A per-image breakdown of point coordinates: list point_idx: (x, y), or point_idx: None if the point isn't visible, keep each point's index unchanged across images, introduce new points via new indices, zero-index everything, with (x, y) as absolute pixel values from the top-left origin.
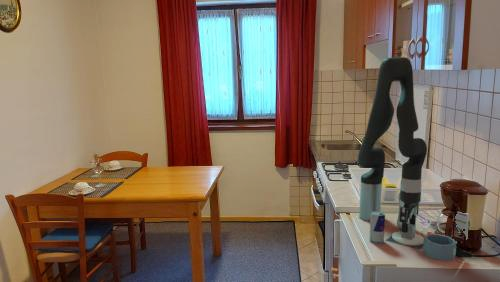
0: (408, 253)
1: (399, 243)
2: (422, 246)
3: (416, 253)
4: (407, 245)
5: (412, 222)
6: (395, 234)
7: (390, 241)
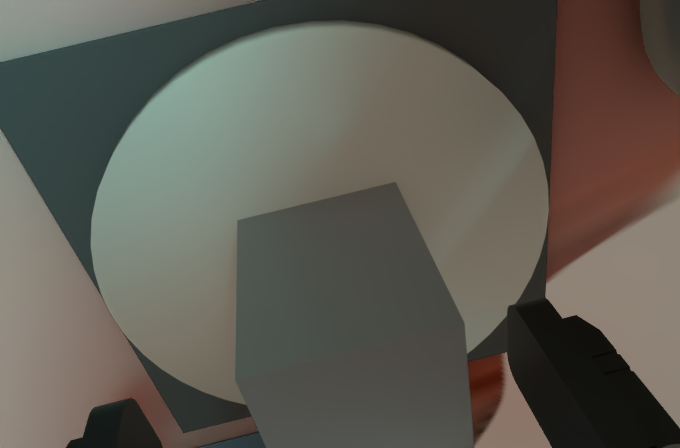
0: (6, 416)
1: None
2: None
3: None
4: None
5: (543, 398)
6: (266, 98)
7: (20, 152)
